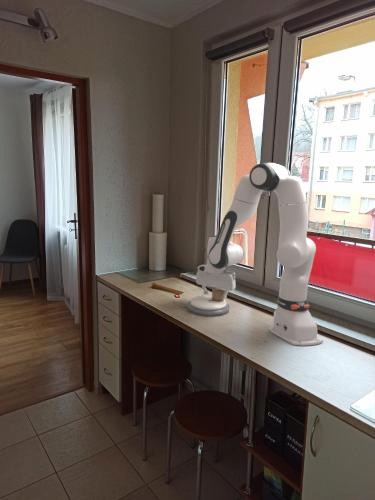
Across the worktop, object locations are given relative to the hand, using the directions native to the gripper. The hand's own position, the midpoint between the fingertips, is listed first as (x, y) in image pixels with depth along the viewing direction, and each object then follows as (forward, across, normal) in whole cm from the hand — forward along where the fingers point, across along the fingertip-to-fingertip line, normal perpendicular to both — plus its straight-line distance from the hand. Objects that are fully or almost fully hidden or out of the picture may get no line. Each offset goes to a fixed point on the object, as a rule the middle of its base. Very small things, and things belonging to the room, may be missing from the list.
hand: (214, 295), depth 180 cm
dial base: (+5, +1, +5) cm, 7 cm away
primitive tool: (+5, +33, -7) cm, 34 cm away
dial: (+3, +1, +5) cm, 6 cm away
